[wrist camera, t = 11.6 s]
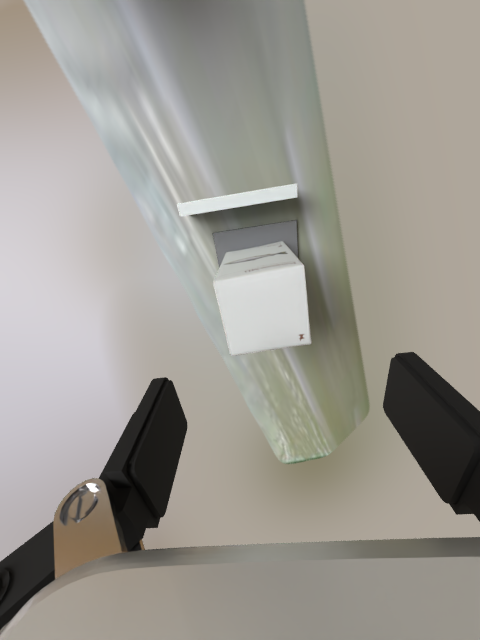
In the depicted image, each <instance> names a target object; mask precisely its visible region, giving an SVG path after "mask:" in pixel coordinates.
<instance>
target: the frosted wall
mask: <svg viewBox="0 0 480 640" xmlns="http://www.w3.org/2000/svg"><path fill="white" fill-rule="evenodd" d="M290 198H297V184H291V185H285V186H279V187H273V188H267V189H261V190H255V191H249V192H244V193H238V194H232V195H226V196H220V197H214V198H208V199H202V200H196V201H190V202H184V203H179V204H177V206H178V210H179V215H180V217H181V216H187V215H193V214H199V213H205V212H211V211H217V210H223V209H229V208H236V207H242V206H248V205H254V204H260V203H266V202H272V201H278V200H284V199H290Z"/></svg>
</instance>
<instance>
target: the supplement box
mask: <svg viewBox="0 0 480 640" xmlns="http://www.w3.org/2000/svg"><path fill="white" fill-rule="evenodd" d="M213 286H214V290H215V293H216V297H217V301H218V306H219V310H220V314H221V318H222V323H223V327H224V331H225V335H226V340H227V344H228V348H229V352H230V355H232V356H236V355H242V354H248V353H255V352H261V351H268V350H276V349H281V348H288V347H294V346H301V345H309V344H311V343H312V340H311V331H310V321H309V311H308V302H307V292H306V280H305V269H304V265H303V264H302V262H301V261H300V260H299V259H298V258H297V257H296V255H295V254H294V253H293V252H292V251H291V250H290V249H289V247H288V246H287V245H286V244H285V243H284V242H283V241H280V242H276V243H272V244H268V245H263V246H259V247H254V248H248V249H243V250H238V251H231V252H226V254H225V256H224V259H223V261H222V263H221V265H220V267H219V270H218V272H217V274H216V276H215V279H214V281H213Z"/></svg>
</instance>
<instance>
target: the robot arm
mask: <svg viewBox="0 0 480 640" xmlns="http://www.w3.org/2000/svg"><path fill="white" fill-rule="evenodd" d="M383 408H384V411H385V413H386V415H387V417H388V418H389V419H390V421H391V423H392V424H393V426H394V427H395V429H396V430H397V432H398V433H399V435H400V436H401V438H402V440H403V441H404V442H405V444H406V446H407V447H408V449H409V450H410V452H411V453H412V455H413V456H414V458H415V459H416V461H417V462H418V464H419V465H420V467H421V468H422V470H423V472H424V473H425V475H426V476H427V478H428V479H429V481H430V482H431V484H432V485H433V487H434V488H435V490H436V492H437V493H438V495H439V496H440V498H441V499H442V500H443V501H444V502H445V503H449V504H450V506H451V507H452V508H453V510H454V512H455V513H456V514H474V515H475V516H476V517H477V519H478V520H479V521H480V411H479V410H477V409H476V408H475V407H474V406H473V405H472V404H471V403H470V402H469V401H468V400H466V399H465V398H464V397H463V396H462V395H461V394H460V393H459V392H458V391H456V390H455V389H454V388H453V387H452V386H451V385H450V384H449V383H448V382H447V381H445V380H444V379H443V378H442V377H441V376H440V375H439V374H438V373H437V372H435V371H434V370H433V369H432V368H431V367H430V366H429V365H428V364H427V363H426V362H424V361H423V360H422V359H421V358H420V357H419V356H418V355H417V354H415V353H414V352H408V353H398V354H396V355H395V357H394V358H392V359H391V363H390V369H389V374H388V379H387V385H386V391H385V397H384V402H383ZM186 431H187V420H186V418H185V415H184V412H183V409H182V407H181V404H180V401H179V398H178V396H177V393H176V390H175V387H174V385H173V382H172V381H171V380H170V381H169V380H168V378H157V379H153V380H152V381H151V383H150V385H149V387H148V389H147V391H146V393H145V395H144V397H143V399H142V401H141V403H140V405H139V406H138V408H137V410H136V412H135V413H134V414H133V415H132V417H131V419H130V421H129V422H128V424H127V426H126V428H125V430H124V432H123V434H122V436H121V438H120V440H119V441H118V443H117V445H116V447H115V449H114V451H113V453H112V455H111V456H110V458H109V460H108V462H107V464H106V466H105V468H104V470H103V472H102V473H101V475H100V477H99V479H97V478H92V479H89V480H86V481H84V482H82V483H80V484H78V485H77V486H76V487H75V488H73V489H72V490H71V491H70V492H69V493H68V494H67V495H66V496H65V497H64V498H63V500H62V501H61V503H60V504H59V506H58V508H57V510H56V512H55V515H54V521H53V522H52V523H50V524H49V525H48V526H46V527H45V528H44V529H42V530H41V531H40V532H39V533H37V534H36V535H35V536H34V537H32V538H31V539H29V540H28V541H27V542H25V543H24V544H23V545H22V546H20V547H19V548H18V549H16V550H15V551H14V552H13V553H11V554H10V555H9V556H7V557H6V558H5V559H3V560H2V561H1V562H0V640H480V537H472V538H470V537H469V538H423V539H390V540H359V541H330V542H303V543H276V544H251V545H228V546H203V547H184V548H167V549H152V550H145V548H144V545H143V541H142V538H143V536H144V533H145V530H146V528H158V524H159V520H160V517H163V516H164V515H165V512H166V509H167V505H168V501H169V497H170V493H171V489H172V485H173V482H174V478H175V474H176V470H177V466H178V462H179V458H180V455H181V451H182V446H183V443H184V439H185V435H186Z"/></svg>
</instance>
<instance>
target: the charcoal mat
mask: <svg viewBox="0 0 480 640" xmlns="http://www.w3.org/2000/svg"><path fill="white" fill-rule="evenodd" d="M213 237H214V242H215V248H216V253H217V258H218V264H219V267H220V265H221V263H222V261H223V259H224V256H225V254H226V252H231V251H238V250H243V249H248V248H254V247H259V246H263V245H268V244H272V243H276V242H280V241H283V242H284V243H285V244H286V245H287V246H288V247H289V249H290V250H291V251H292V252H293V253H294V254H295V255H296V257H297V258H298V247H297V220H293V221H287V222H280V223H274V224H267V225H261V226H255V227H248V228H242V229H235V230H229V231H222V232H216V233H213Z"/></svg>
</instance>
